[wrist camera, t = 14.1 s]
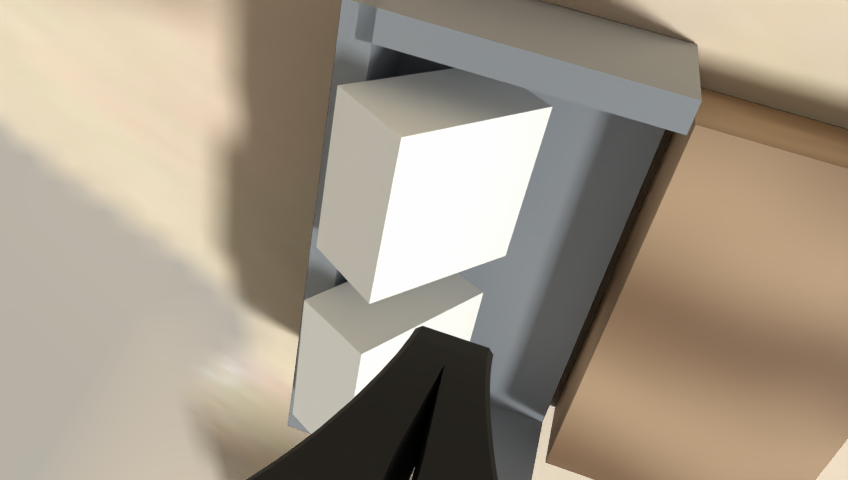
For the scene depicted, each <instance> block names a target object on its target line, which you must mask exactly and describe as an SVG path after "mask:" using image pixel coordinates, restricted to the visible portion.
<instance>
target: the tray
mask: <svg viewBox="0 0 848 480" xmlns="http://www.w3.org/2000/svg"><path fill="white" fill-rule="evenodd" d="M453 68H458V69H461V70H464V71H468V72H471V73H475V74H478V75H482V76H485V77H488V78H492V79H495V80H499V81H502V82H506V83H509V84H512V85H516V86H519V87H523V88H525V89H526V90H528V91H530V92H531V93H533V94H534V95H536V96H537V97H539V98H540V99H542V100H543V101H545V102H546V103H548V104H549V105H551V106H553V107H552V110H551V113H550V116H549V120H548V123H547V126H546V129H545V132H544V135H543V139H542V142H541V145H540V148H539V151H538V154H537V158H536V161H535V164H534V167H533V170H532V173H531V177H530V180H529V183H528V186H527V189H526V192H525V196H524V199H523V202H522V205H521V208H520V211H519V215H518V218H517V221H516V224H515V227H514V230H513V234H512V237H511V240H510V243H509V246H508V249H507V253H506V256H503V257H501V258H498V259H495V260H492V261H489V262H486V263H484V264H481V265H478V266H475V267H472V268H469V269H467V270H464V271H461V272H458V273H459V274H461V275H462V276H463V277H464V278H466V279H467V280H468V281H470V282H471V283H472V284H473V285H475V286H476V287H477V288H479V289H480V290H481V291H482V292H483V296H482V300H481V303H480V307H479V310H478V314H477V318H476V321H475V325H474V328H473V332H472V335H471V339H470V342H473V343H476V344H479V345H482V346H485V347H488V348H490V350H491V352H492V353H493V360H492V366H491V378H490V411H491V426H492V437H493V447H494V456H495V463H496V471H497V477H498V480H531V479H532V474H533V469H534V463H535V458H536V453H537V448H538V442H539V437H540V432H541V427H542V422H543V419H544V417H545V415H546V412H547V410H548V408H549V405H550V403H551V400H552V398H553V396H554V393H555V391H556V389H557V386H558V384H559V381H560V379H561V377H562V374H563V372H564V370H565V367H566V365H567V362H568V360H569V358H570V355H571V353H572V351H573V348H574V346H575V343H576V341H577V339H578V336H579V334H580V331H581V329H582V327H583V324H584V322H585V320H586V317H587V315H588V312H589V310H590V308H591V305H592V303H593V301H594V298H595V296H596V293H597V291H598V289H599V286H600V284H601V282H602V279H603V277H604V274H605V272H606V270H607V267H608V265H609V263H610V260H611V258H612V255H613V253H614V251H615V248H616V246H617V243H618V241H619V239H620V236H621V234H622V232H623V229H624V227H625V224H626V222H627V220H628V217H629V215H630V213H631V210H632V208H633V205H634V203H635V201H636V198H637V196H638V194H639V191H640V189H641V186H642V184H643V182H644V179H645V177H646V175H647V172H648V170H649V167H650V165H651V163H652V160H653V158H654V155H655V153H656V151H657V148H658V146H659V144H660V141H661V139H662V136H663V134H664V132H665V129H667V130H670V131H673V132H677V133H680V134H684V135H687V133H688V131H689V129H690V127H691V124H692V122H693V120H694V118H695V115H696V113H697V111H698V109H699V106H700V104H701V102H702V96H701V84H700V73H699V61H698V49H697V44H694V43H690V42H687V41H683V40H680V39H676V38H672V37H669V36H665V35H662V34H658V33H654V32H651V31H647V30H644V29H640V28H636V27H633V26H629V25H626V24H622V23H618V22H615V21H611V20H608V19H604V18H600V17H597V16H593V15H590V14H586V13H582V12H579V11H575V10H572V9H568V8H564V7H561V6H557V5H554V4H550V3H546V2H543V1H539V0H342V3H341V11H340V19H339V26H338V34H337V42H336V50H335V58H334V66H333V74H332V82H331V89H330V97H329V105H328V113H327V121H326V129H325V137H324V145H323V152H322V160H321V168H320V176H319V184H318V192H317V200H316V208H315V215H314V223H313V231H312V239H311V247H310V255H309V263H308V270H307V278H306V286H305V294H304V300H306V299H308V298H310V297H313V296H315V295H317V294H320V293H322V292H324V291H327V290H329V289H331V288H334V287H336V286H338V285H341V284H343V283H346V282H348V280H347V279H346V278H345V277H344V276H343V275H342V274H341V273H340V272H339V271H338V270H337V269H336V268H335V266H334V265H333V264H332V263H331V262H330V261H329V260H328V259H327V258H326V257H325V256H324V255H323V254H322V252H321V251H320V250H319V249H318V248H317V247H316V246H317V238H318V230H319V223H320V215H321V208H322V200H323V192H324V185H325V177H326V169H327V162H328V154H329V147H330V139H331V131H332V124H333V116H334V109H335V101H336V93H337V86H338V85H343V84H350V83H357V82H363V81H370V80H377V79H384V78H391V77H398V76H405V75H411V74H418V73H425V72H432V71H439V70H446V69H453ZM303 308H304V302H303ZM302 317H303V310H302ZM301 327H302V318H301V326H300V333H299V341H298V349H297V357H296V365H295V373H294V381H293V389H292V396H291V404H290V412H289V420H288V426H290V427H293V428H296V429H298V430H301V431H304V432H307V433H309V431H308V430H307V429H306V428H305V427H304V426H303V425H302V424H301V423H300V422H299V420H298V419H297V418H296V417H295V416H294V415H293V406H294V396H295V386H296V376H297V366H298V357H299V347H300V337H301ZM414 469H415V468H414ZM413 471H414V470H413Z"/></svg>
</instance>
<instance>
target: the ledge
mask: <svg viewBox="0 0 848 480" xmlns="http://www.w3.org/2000/svg"><path fill="white" fill-rule="evenodd" d="M701 96H702V102H701V104H700V106H699V109H698V111H697V113H696V115H695V118H694V120H693V122H692V124H691V127H690V129H689V131H688V133H687V135H684V134H680V133H677V132H673V134H672V136H671V139H670V141H669V143H668V146H667V148H666V150H665V153H664V155H663V157H662V160H661V162H660V164H659V167H658V169H657V171H656V174H655V176H654V178H653V181H652V183H651V185H650V188H649V190H648V192H647V195H646V197H645V199H644V202H643V204H642V206H641V209H640V211H639V213H638V216H637V218H636V220H635V223H634V225H633V227H632V230H631V232H630V234H629V237H628V239H627V241H626V244H625V246H624V248H623V251H622V253H621V255H620V258H619V260H618V262H617V265H616V267H615V269H614V272H613V274H612V276H611V279H610V281H609V283H608V286H607V288H606V290H605V293H604V295H603V297H602V300H601V302H600V304H599V307H598V309H597V311H596V314H595V316H594V318H593V321H592V323H591V325H590V328H589V330H588V333H587V335H586V337H585V340H584V342H583V344H582V347H581V349H580V351H579V354H578V356H577V358H576V361H575V363H574V365H573V368H572V370H571V372H570V375H569V377H568V379H567V382H566V384H565V386H564V389H563V391H562V393H561V396H560V398H559V400H558V403H557V405H556V407H555V411H554V417H553V422H552V428H551V434H550V439H549V445H548V451H547V456H546V463H548V464H551V465H554V466H557V467H560V468H563V469H566V470H569V471H571V472H574V473H577V474H580V475H583V476H586V477H589V478H592V479H594V480H816V478H817V477H818V476H819V475H820V473H821V472H822V471H823V469H824V468H825V467H826V466H827V464H828V463H829V462H830V461H831V459H832V458H833V457H834V455H835V454H836V453H837V452H838V450H839V449H840V448H841V447H842V445H843V444H844V443H845V442H846V440H847V439H848V130H847V129H844V128H840V127H837V126H833V125H830V124H826V123H823V122H819V121H816V120H812V119H809V118H805V117H801V116H798V115H794V114H791V113H787V112H784V111H780V110H777V109H773V108H770V107H766V106H763V105H759V104H756V103H752V102H749V101H745V100H742V99H738V98H735V97H731V96H728V95H724V94H721V93H717V92H714V91H710V90H706V89H703V88H701Z"/></svg>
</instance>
